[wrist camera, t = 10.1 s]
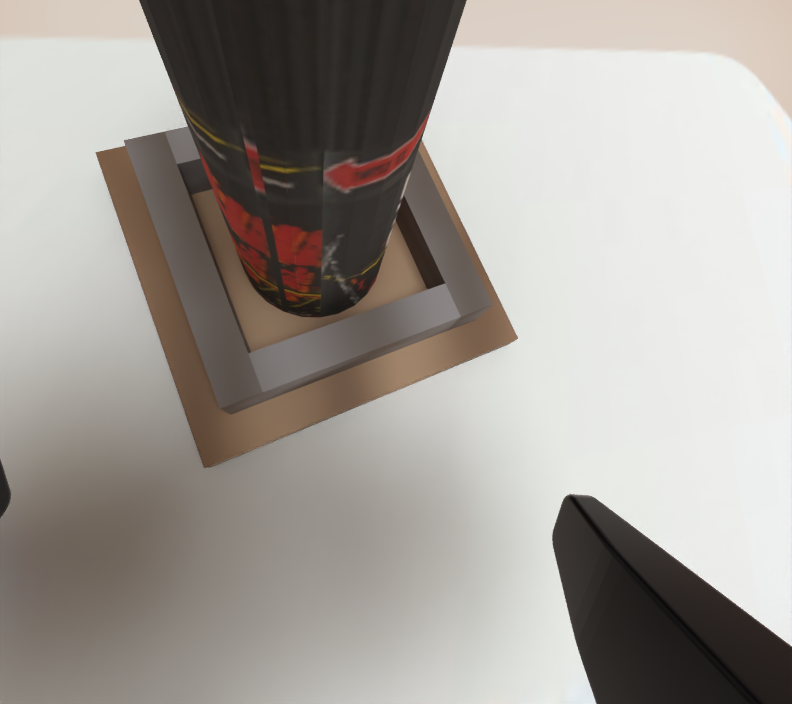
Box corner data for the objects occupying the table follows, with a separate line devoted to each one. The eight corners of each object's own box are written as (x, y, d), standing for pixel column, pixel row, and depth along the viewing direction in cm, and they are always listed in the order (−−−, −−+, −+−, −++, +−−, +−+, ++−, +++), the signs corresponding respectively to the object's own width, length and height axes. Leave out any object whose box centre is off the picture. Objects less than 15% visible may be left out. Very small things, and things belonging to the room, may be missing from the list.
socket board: (210, 467, 17) (188, 468, 14) (106, 167, 19) (69, 116, 16) (508, 343, 21) (539, 325, 18) (392, 102, 23) (403, 51, 20)
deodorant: (236, 194, 19) (-20, -646, 5) (371, 190, 20) (505, -484, 6) (246, 323, 18) (-67, -275, 3) (389, 311, 19) (620, -165, 4)
